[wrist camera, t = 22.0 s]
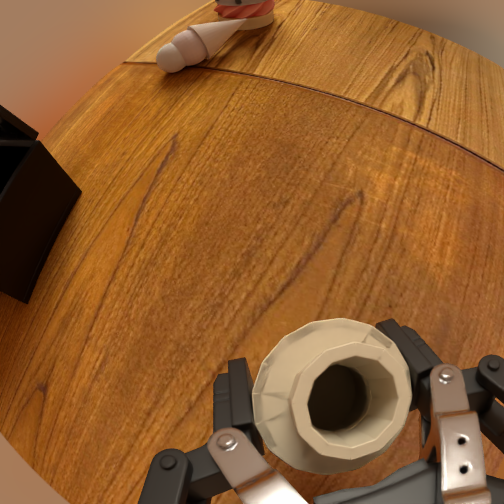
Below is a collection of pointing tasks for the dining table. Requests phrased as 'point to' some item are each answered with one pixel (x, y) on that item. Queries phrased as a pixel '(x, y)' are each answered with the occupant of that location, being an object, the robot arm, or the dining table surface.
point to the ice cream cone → (195, 44)
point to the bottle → (331, 396)
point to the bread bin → (29, 212)
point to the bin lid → (14, 127)
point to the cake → (246, 12)
